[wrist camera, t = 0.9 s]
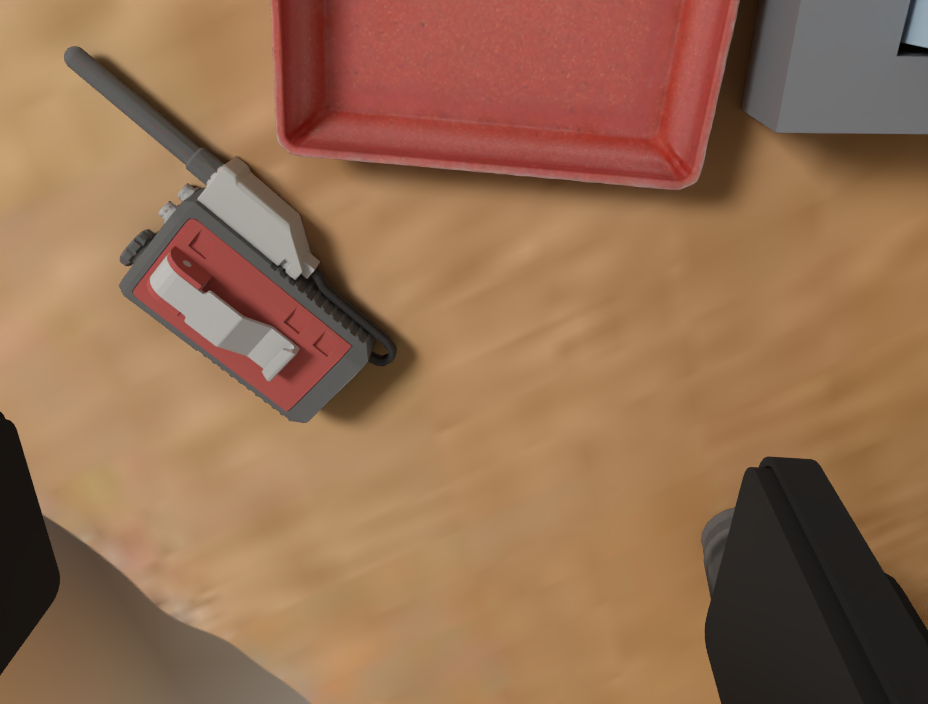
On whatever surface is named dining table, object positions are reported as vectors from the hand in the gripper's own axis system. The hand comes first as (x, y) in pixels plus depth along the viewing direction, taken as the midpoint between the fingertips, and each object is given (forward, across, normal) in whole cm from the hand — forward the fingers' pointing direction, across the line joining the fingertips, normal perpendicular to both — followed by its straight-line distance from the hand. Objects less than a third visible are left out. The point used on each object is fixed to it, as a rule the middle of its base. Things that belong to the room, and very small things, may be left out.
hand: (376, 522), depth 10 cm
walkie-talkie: (+28, +12, +7) cm, 31 cm away
